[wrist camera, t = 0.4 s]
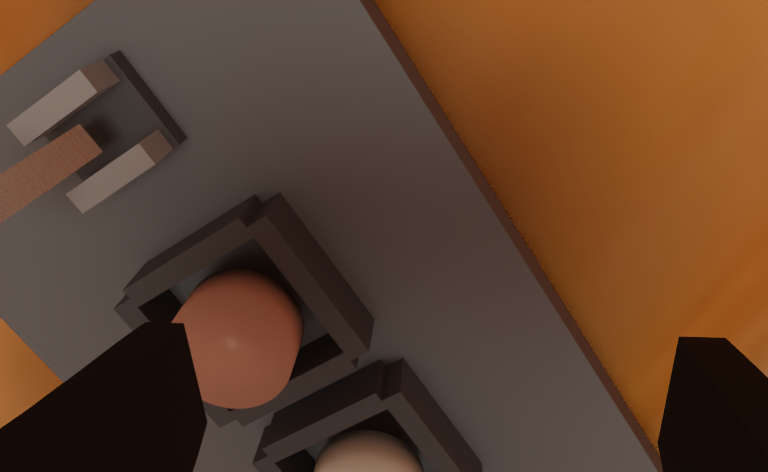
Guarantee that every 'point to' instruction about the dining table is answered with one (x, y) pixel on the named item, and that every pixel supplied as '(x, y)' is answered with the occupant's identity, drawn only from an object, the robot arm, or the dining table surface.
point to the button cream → (367, 454)
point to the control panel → (297, 236)
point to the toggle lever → (45, 169)
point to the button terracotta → (241, 337)
